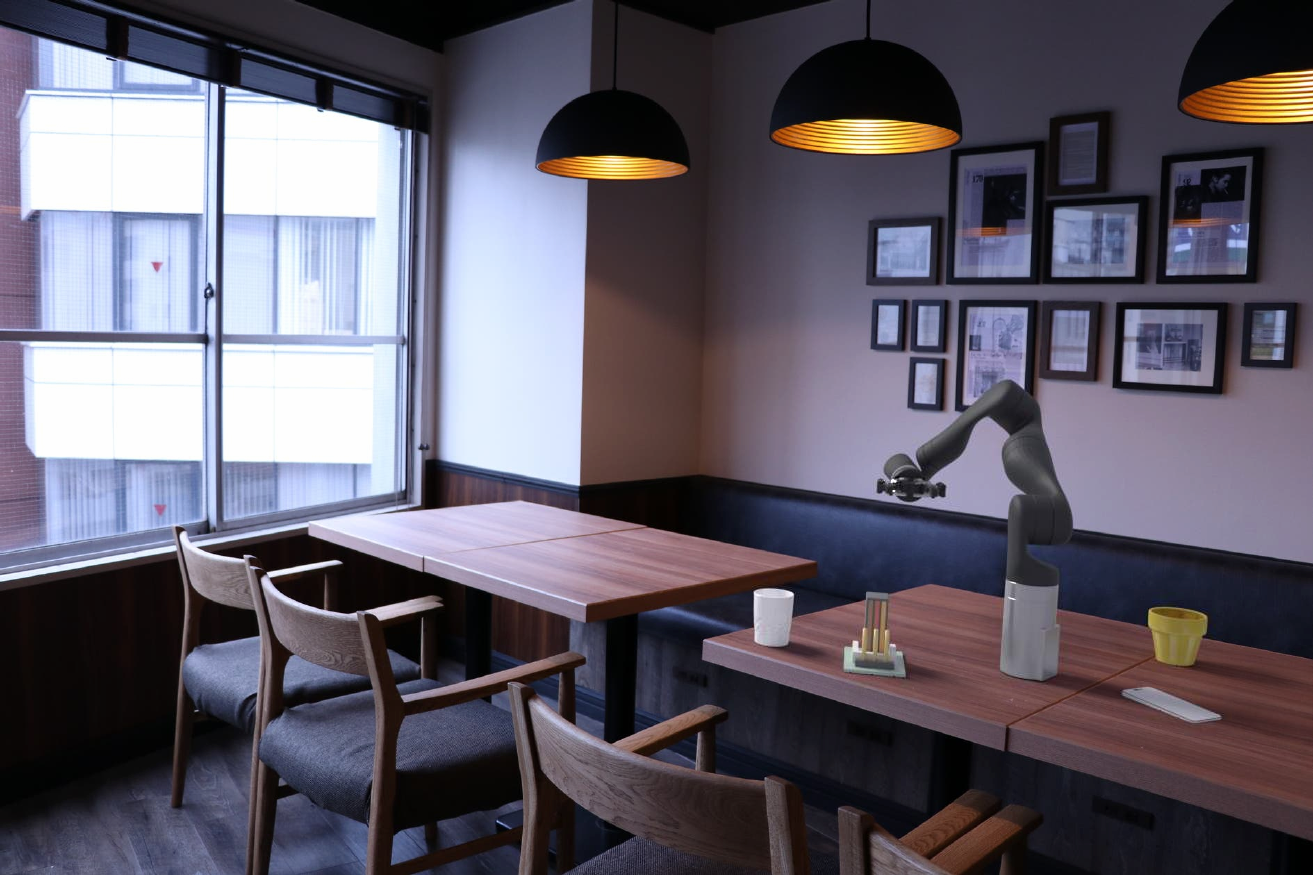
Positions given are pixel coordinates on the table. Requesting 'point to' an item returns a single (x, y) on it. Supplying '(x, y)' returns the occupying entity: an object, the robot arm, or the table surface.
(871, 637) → the block
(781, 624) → the white cup
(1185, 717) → the smartphone
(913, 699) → the table surface
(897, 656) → the header board
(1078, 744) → the table surface
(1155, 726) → the table surface
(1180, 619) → the plant pot
